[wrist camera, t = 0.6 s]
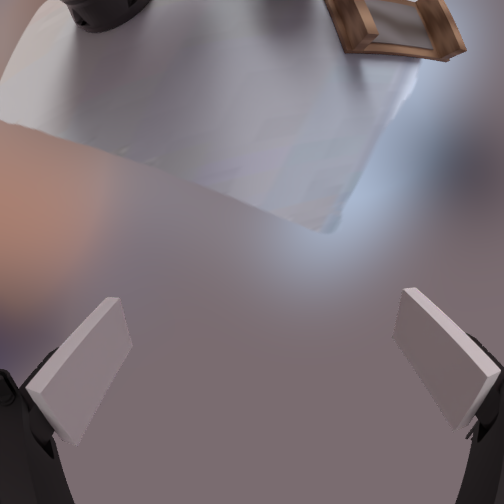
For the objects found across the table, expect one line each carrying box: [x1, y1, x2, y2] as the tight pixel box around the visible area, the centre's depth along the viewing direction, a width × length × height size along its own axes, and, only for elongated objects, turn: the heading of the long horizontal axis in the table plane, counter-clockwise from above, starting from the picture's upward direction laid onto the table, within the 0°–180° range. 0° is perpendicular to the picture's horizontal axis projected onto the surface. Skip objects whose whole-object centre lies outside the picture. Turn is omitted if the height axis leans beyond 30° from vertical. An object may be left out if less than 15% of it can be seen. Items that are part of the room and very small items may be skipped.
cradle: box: [324, 0, 467, 62], centre depth 23 cm, size 12×20×7 cm, turn 102°
